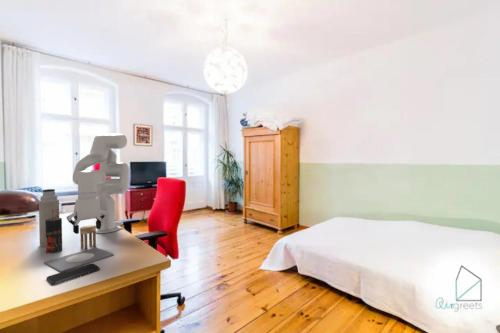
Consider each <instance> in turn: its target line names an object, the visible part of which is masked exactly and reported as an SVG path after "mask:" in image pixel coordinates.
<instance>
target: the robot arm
mask: <svg viewBox="0 0 500 333" xmlns="http://www.w3.org/2000/svg"><path fill="white" fill-rule="evenodd" d="M127 144H128V139H127V136H126V135H125V134H123V133H99V134H97V135H95V136H94V138H93V141H92V146H91V149H90V151H89V154H87V155H85V156H84V157H82V158H81V159H79V161H77V163H76V165H75V167H74V170H73V173H72V181H73V183H74V184H75V185H77V198H76V199H75V203H74V208H73V212H72V213H71V214H69V215H67V216H66V218H65V219H66V220H67V221H68V223H70V224H71V225H72V232H73V233H74V234H77V235H78V234H80V226H79V223H80V222H81V221H87V220H92V219H95V226H96V234H108V233H113V232H116V231H119V226H122V225H124V221H116V200H115V199H114V197H113V196H112V195H122V194H123V195H124V194H126V193H127V192H128V186H129V173H130V170H129V166H128V164H127V163H126V162H123V161H117V158H118V157H117V154H116V152H114V150H115V149H118V150H120V149H124V148H125V147H126V146H127ZM98 164H99V169H88V168H89V167H92V166H95V165H98Z"/></svg>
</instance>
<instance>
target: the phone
mask: <svg viewBox="0 0 500 333" xmlns="http://www.w3.org/2000/svg"><path fill="white" fill-rule="evenodd" d="M100 270H101V268H100V266H98V265H96V264H95V263H88V264H85V265H82V266H79V267H76V268H73V269H70V270H67V271H64V272H58V273H54V274H51V275H48V276H46V281H47V282H48V283H49V284H50V285H51V286H56V285H60V284H62V283H66V282H68V280H69V281H71V279H72V280H74V278H75V279H78V278H80V276H81V277H83V276H84V277H85V276H88V275H90V274H92V273H96V272H99V271H100ZM77 277H78V278H77ZM65 281H66V282H65Z"/></svg>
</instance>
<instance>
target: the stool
mask: <svg viewBox="0 0 500 333" xmlns="http://www.w3.org/2000/svg"><path fill="white" fill-rule="evenodd" d="M79 234H80V249H83V248H84V250H88V249H89V248H88V246H89V247H90V246H92V248H95V247H96V248H97V237H96V236H97V233H96V224H94V225H93V224H92V225H84V226H80V227H79Z"/></svg>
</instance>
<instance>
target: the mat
mask: <svg viewBox="0 0 500 333" xmlns="http://www.w3.org/2000/svg"><path fill="white" fill-rule="evenodd" d="M114 255H115V253H113V252H110V251H107V250H104V249H102V248H99V247H97V246H96V247H92V248H88V249H86V250H85V249H84V250H80V251H78V252H74V253H71V254H67V255H64V256H60V257H57V258H53V259H49V260H45V261H43V263H44V264H45V265H46V266H48V267H50V268H52V269H53V270H56V271H58V273H61V272H64V271H68V270H71V269H74V268H78V267H81V266H85V265H88V264H93V263H94V262H98V261H101V260H103V259H106V258H107V259H108V258H110V257H113V256H114Z"/></svg>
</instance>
